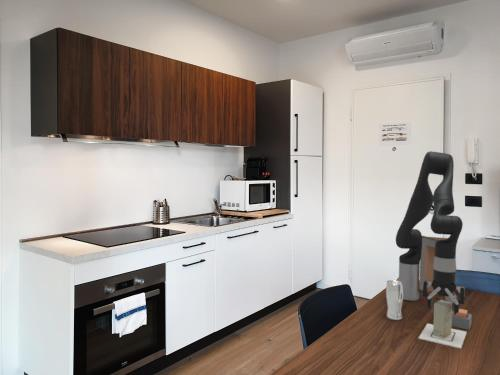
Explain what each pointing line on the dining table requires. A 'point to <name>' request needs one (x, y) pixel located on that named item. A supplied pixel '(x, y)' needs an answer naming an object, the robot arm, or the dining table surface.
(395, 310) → the beer glass
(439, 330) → the skincare box
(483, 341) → the dining table surface
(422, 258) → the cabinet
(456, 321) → the button housing
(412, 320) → the dining table surface
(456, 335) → the paper sheet
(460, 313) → the button
